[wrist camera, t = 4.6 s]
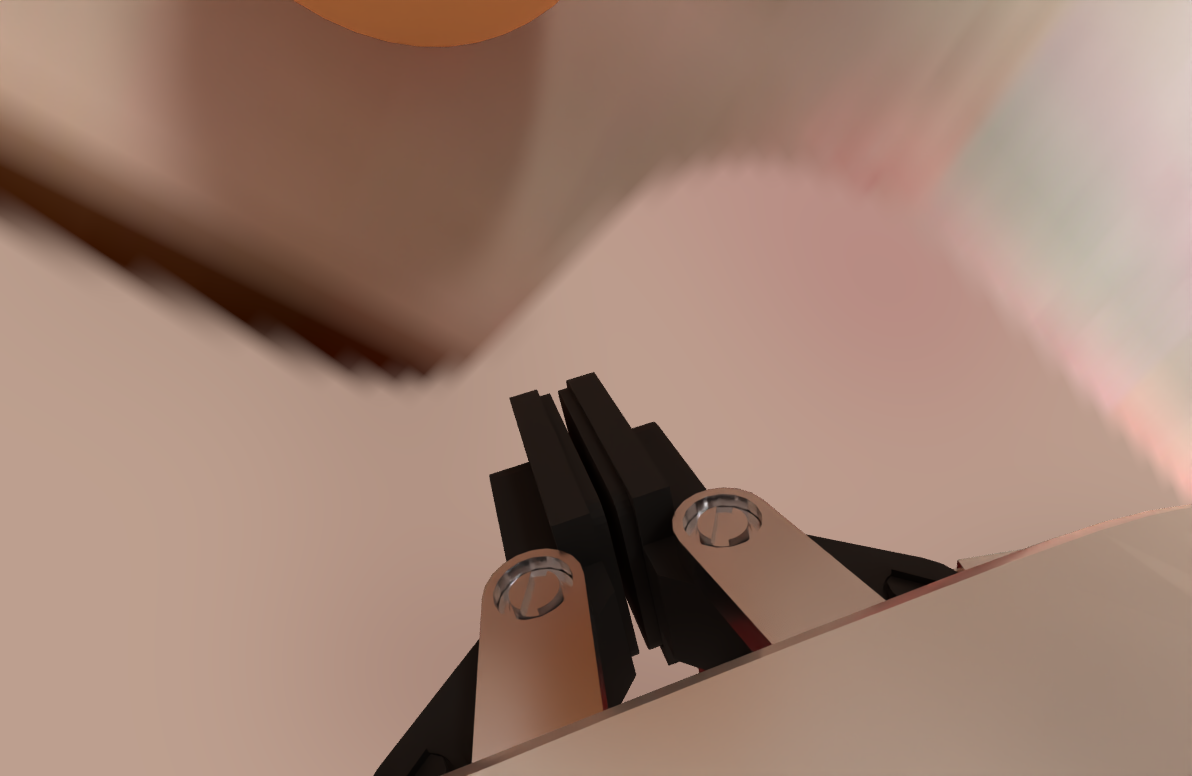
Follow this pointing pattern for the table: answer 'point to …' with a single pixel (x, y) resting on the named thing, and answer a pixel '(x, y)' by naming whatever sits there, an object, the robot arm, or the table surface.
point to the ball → (430, 18)
